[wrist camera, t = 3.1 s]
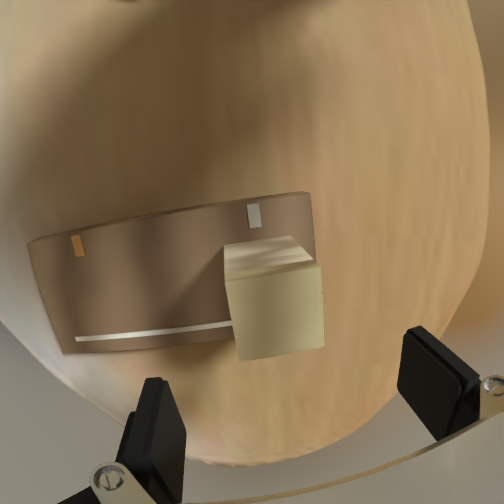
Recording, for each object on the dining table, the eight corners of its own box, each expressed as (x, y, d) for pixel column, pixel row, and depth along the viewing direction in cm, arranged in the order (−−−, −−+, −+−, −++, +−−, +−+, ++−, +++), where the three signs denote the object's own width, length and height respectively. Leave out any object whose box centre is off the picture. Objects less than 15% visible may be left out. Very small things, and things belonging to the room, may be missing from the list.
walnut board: (302, 191, 23) (310, 193, 21) (312, 312, 25) (319, 323, 23) (39, 237, 21) (26, 243, 19) (72, 342, 24) (63, 353, 22)
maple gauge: (290, 235, 21) (320, 266, 15) (296, 296, 23) (324, 346, 16) (223, 245, 21) (224, 282, 14) (234, 306, 22) (239, 362, 16)
